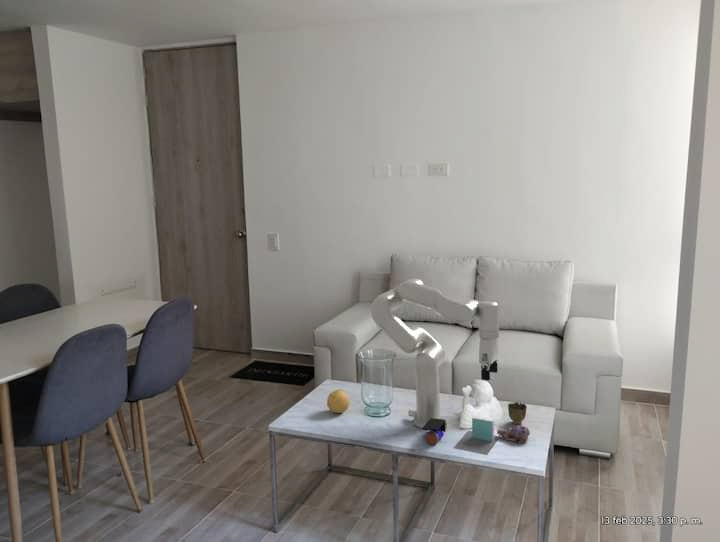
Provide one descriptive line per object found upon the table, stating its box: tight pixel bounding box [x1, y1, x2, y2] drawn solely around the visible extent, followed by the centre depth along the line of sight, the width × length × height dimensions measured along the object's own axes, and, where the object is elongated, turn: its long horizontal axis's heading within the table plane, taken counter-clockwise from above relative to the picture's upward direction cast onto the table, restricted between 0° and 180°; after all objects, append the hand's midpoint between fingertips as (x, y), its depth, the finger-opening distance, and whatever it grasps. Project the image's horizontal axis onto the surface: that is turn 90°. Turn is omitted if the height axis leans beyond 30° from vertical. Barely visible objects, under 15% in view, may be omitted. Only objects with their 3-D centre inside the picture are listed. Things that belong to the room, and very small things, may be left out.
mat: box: [453, 430, 501, 456], centre depth 225 cm, size 13×17×1 cm
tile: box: [471, 416, 495, 441], centre depth 228 cm, size 8×2×8 cm, turn 61°
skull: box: [496, 425, 531, 444], centre depth 227 cm, size 12×8×6 cm, turn 60°
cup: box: [507, 401, 527, 426], centre depth 241 cm, size 8×7×8 cm
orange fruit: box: [326, 389, 351, 414], centre depth 258 cm, size 10×10×10 cm
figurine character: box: [421, 418, 448, 446], centre depth 230 cm, size 7×8×15 cm
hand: (489, 376), depth 230 cm, fingers open, 9 cm apart
